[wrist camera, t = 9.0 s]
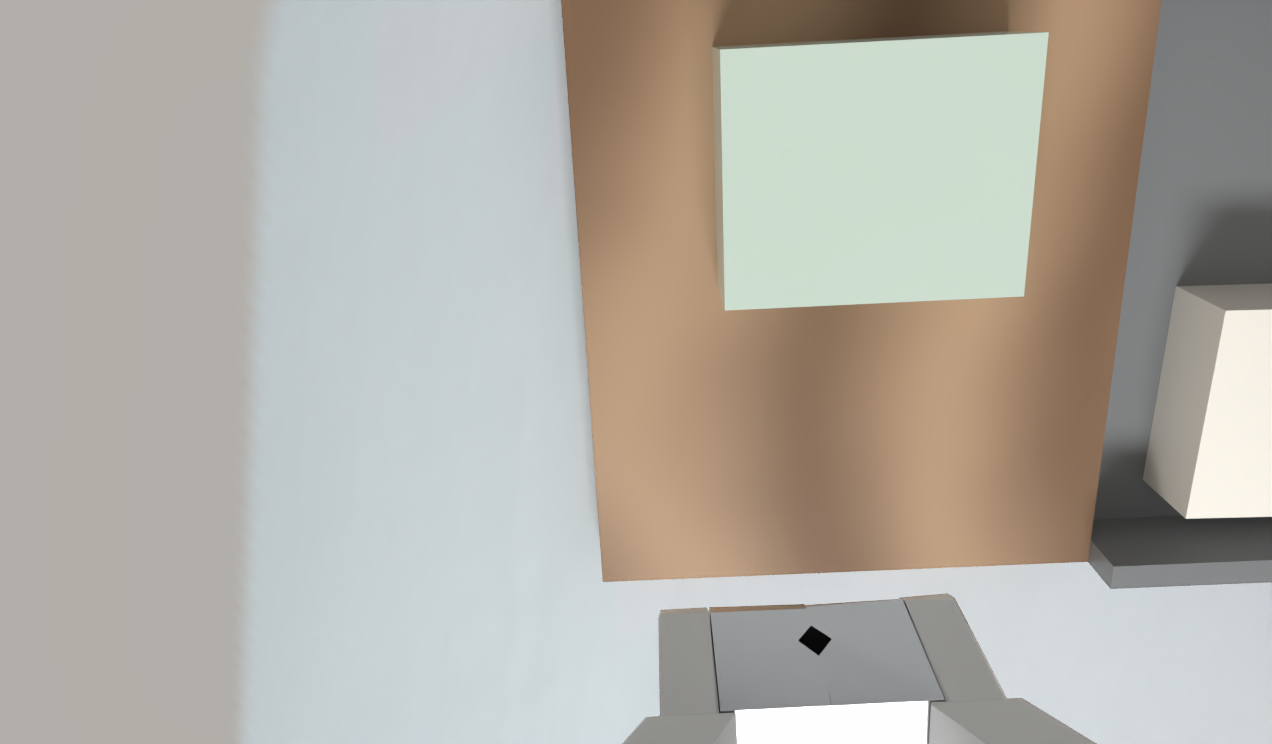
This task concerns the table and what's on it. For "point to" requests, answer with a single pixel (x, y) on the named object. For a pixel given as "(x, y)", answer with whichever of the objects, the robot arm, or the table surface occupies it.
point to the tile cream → (1215, 404)
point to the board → (842, 316)
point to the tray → (1187, 279)
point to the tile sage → (876, 168)
